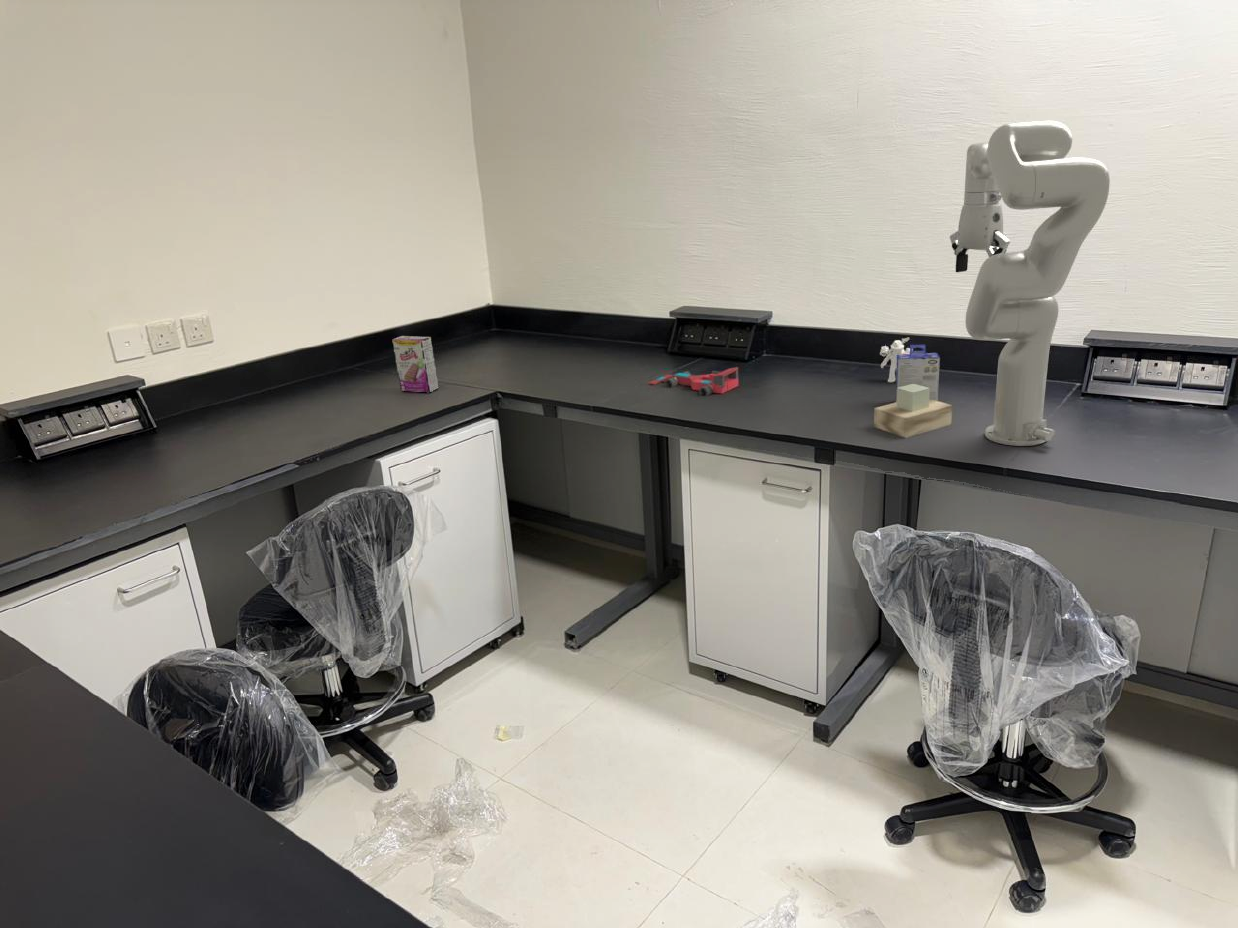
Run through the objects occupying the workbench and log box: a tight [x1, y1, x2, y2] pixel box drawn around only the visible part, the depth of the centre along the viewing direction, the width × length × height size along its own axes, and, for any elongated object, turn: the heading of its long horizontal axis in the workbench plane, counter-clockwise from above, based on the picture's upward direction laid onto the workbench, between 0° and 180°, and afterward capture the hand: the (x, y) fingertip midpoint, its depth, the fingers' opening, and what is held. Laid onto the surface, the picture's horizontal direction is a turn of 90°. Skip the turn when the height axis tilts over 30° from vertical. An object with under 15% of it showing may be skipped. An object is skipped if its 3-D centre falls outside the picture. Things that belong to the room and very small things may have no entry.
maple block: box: [873, 399, 953, 439], centre depth 202 cm, size 10×14×5 cm
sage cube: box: [896, 384, 930, 412], centre depth 200 cm, size 5×5×4 cm
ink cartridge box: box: [894, 344, 941, 403], centre depth 215 cm, size 10×6×14 cm, turn 78°
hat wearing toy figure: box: [879, 337, 914, 383], centre depth 234 cm, size 9×4×12 cm, turn 54°
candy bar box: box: [391, 335, 440, 392], centre depth 263 cm, size 11×5×16 cm, turn 65°
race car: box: [647, 366, 739, 397], centre depth 247 cm, size 14×6×25 cm
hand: (976, 273), depth 209 cm, fingers open, 9 cm apart
